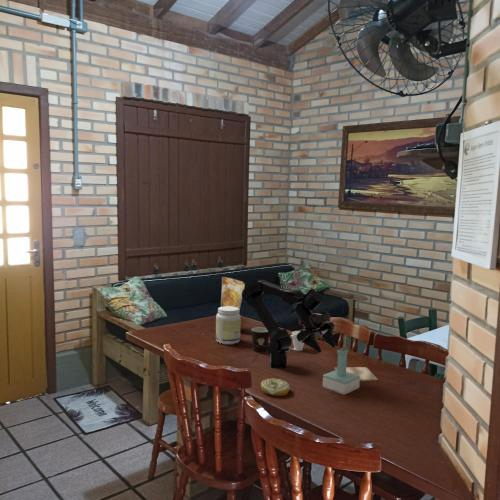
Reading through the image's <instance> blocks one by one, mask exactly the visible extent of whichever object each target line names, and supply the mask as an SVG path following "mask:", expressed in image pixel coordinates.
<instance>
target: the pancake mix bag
mask: <svg viewBox="0 0 500 500" xmlns="http://www.w3.org/2000/svg"><path fill="white" fill-rule="evenodd" d="M245 287H246V284H245V282H244V281H242V280H239V279H236V278H235V279H234V278H232V277H227V276H223V277H221V294H220V295H221V297H220V307H224V306H232V307H237V308H239V312H240V310H241V304H242V301H243V299H242V291H243V290H244V289H246V288H245Z"/></svg>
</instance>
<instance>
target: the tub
mask: <svg viewBox="0 0 500 500" xmlns="http://www.w3.org/2000/svg"><path fill="white" fill-rule="evenodd" d="M360 382H361V381H360V378H359V379H356V380H354V381H352V382H350V383H347V384H342V383H339V382H336V381H333V380H330V379H327V378H324V377H323V376H322V388H324V389H326V390H329V391H332V392H335V393H338V394H340V395H343V396H345V395H347V394H349V393H352V392H354V391H356V390H359V389H360Z"/></svg>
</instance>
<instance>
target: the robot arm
mask: <svg viewBox="0 0 500 500" xmlns="http://www.w3.org/2000/svg"><path fill="white" fill-rule="evenodd" d="M264 293H267V294H269V295H272V296H275V297H277V298H280V300H281V301H282V302H283V303H285V304H286V305H288V306H292V307H291V311H290V314H291V315H293V314H296V316H297V317H298V319H299V320H300V323H299V324H300V326H303V327H304V328H302V329H301V330H299V331H300V332H299V333H298V334H297V339H298V341H299V342H301V341H302V343H304V345H307V346H308V347H310V348H311V349H313V350H315V351H316V352H318V353H321V352H322V349H321V347H320V344H318V342H317V340H316V338H315V337H316V335H315V334H320V335H321V338H322V339H323V340H324V341H326V343H327V344H328V345H330V346H331V347H332V348H333V349H334V348H335V347H336V343H335V338H334V337H333V332H334V331H333V330H334V329H335V327H336V325H335V324H334V322H333V321H331V320H330V319H331V318H332V317H331V316H332V315H331V314H330V313H329V311H328V310H327V311H323V312H322V313H321V314H320V315H318V314H317V313H313V312H312V311H314V310H315V309H317V307H319V306H320V305H321V304H322V303H323V302H324V296H323V295H322V294H321V293H320V292H318V291H316V290H315V288H310V289H309V290H308V291H307V293H303V291H302V290H300V289H295V288H286V287H282V286H281V285H278V284H276V283H275V284H274V283H272V282H269V281H268V280H265V279H261V280H258V281H256V282H255V283H253V284H252V285H250V286H248V287H247V288H244V290H243V291H242V301H244V302H245V304H246V305H248V306H250V307H251V308H253V310H254V312H255V313H256V315H257V316H258V319H260V321H261V323H262V325H263V326H264V328H266V329H267V331H268V332H269V334H270V336H269V341H270V342H271V344H269V345H268V346H267V351H266V352H267V353H269V355H270V356H269V366H270V368H275V369H276V368H283V369H284V368H285V369H286V368H287V366H286V365H287V362H288V358H287V357H288V356H287V352H288V351H289V350H290V348H291V346H292V343H293V339H292V337H291V335H290V334H289V332H288V330H287V329H286V328H284V329H283V328H280V327H279V325H278V324H277V322H276V321H275V319H274V317H273V316H272V314H271V313H270V311H269V310H268V309H267V307H266V305H265V304H264V302H263V294H264ZM294 305H295V306H294ZM270 342H269V343H270ZM289 347H290V348H289Z"/></svg>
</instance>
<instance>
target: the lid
mask: <svg viewBox="0 0 500 500" xmlns="http://www.w3.org/2000/svg"><path fill="white" fill-rule="evenodd" d="M349 350H350V349H347V348H339V349H337V350H336V354H337V363H336V365H337V366H336V367H337V370H335V369H334V370H332V371H330V372H326V373H323V375H322V378H323V377H324V378H327V379H330V380H333V381H336V382H339V383H342V384H347V383H350V382H352V381H354V380H356V379H359V378H360V376H358V375H355V374H352V373H349V372H346V367H347V366H348V364H347V362H348V353H349Z"/></svg>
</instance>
